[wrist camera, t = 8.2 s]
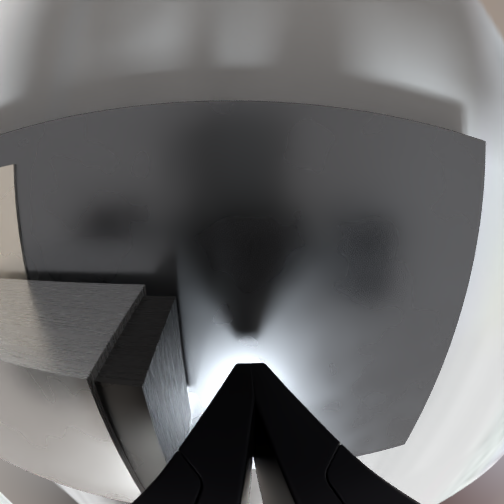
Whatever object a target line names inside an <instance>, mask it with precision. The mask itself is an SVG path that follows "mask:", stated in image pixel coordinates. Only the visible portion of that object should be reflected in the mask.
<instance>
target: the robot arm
mask: <svg viewBox="0 0 504 504" xmlns="http://www.w3.org/2000/svg"><path fill="white" fill-rule="evenodd" d="M253 459H254V463H255V468H256V473H257V478H258V483H259V487H260V492H261V496H262V501H263V504H420V503H419V502H417V501H415V500H414V499H412V498H411V497H409V496H407V495H406V494H404V493H403V492H401V491H400V490H398V489H397V488H395V487H394V486H392V485H391V484H389V483H388V482H386V481H385V480H384V479H382V478H381V477H380V476H378V475H377V474H376V473H374V472H373V471H372V470H370V469H369V468H368V467H367V466H365V465H364V464H363V463H362V462H361V461H360V460H359V459H357V458H356V457H355V456H354V455H353V454H352V453H351V452H350V451H349V450H348V449H347V448H346V447H345V446H344V445H343V444H341V445H340V441H338V440H337V439H336V438H335V437H334V436H333V435H332V434H331V433H330V432H329V431H328V430H327V429H326V427H325V426H324V425H323V424H322V423H321V422H320V421H319V420H318V419H317V418H316V417H315V416H314V415H313V414H312V413H311V412H310V411H309V410H308V409H307V408H306V407H305V406H304V405H303V404H302V403H301V402H300V401H299V400H298V398H297V397H296V396H295V395H294V394H293V393H292V392H291V391H290V390H289V389H288V388H287V387H286V386H285V384H284V383H283V382H282V381H281V380H280V379H279V378H278V377H277V376H276V375H275V374H274V372H273V371H272V370H271V369H270V368H269V367H268V366H267V365H266V364H265V363H237V364H235V366H234V367H233V369H232V370H231V372H230V373H229V375H228V376H227V378H226V379H225V381H224V383H223V384H222V386H221V387H220V389H219V390H218V392H217V393H216V395H215V396H214V398H213V399H212V401H211V402H210V404H209V405H208V407H207V408H206V410H205V411H204V413H203V414H202V415H201V417H200V418H199V420H198V421H197V423H196V424H195V426H194V427H193V429H192V430H191V431H190V433H189V434H188V436H187V437H186V439H185V440H184V442H183V443H182V444H181V446H180V447H179V449H178V451H176V453H175V454H174V455H173V457H172V458H171V460H170V461H169V462H168V464H167V465H166V466H165V467H164V469H163V470H162V471H161V473H160V474H159V475H158V476H157V477H156V479H155V480H154V481H153V482H152V483H151V484H150V485H149V486H148V487H147V488H146V489H145V490H144V491H143V492H142V493H141V494H140V495H139V496H138V497H137V498H136V499H135V500H134V501H133V502H132V503H131V504H248V503H249V494H250V484H251V474H252V464H253Z"/></svg>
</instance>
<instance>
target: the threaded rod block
mask: <svg viewBox="0 0 504 504" xmlns="http://www.w3.org/2000/svg"><path fill="white" fill-rule="evenodd" d="M190 418H191V409H190V403H189V397H188V391H187V384H186V377H185V370H184V363H183V355H182V348H181V339H180V331H179V322H178V312H177V302H176V296H146V288H145V285H141V284H104V283H77V282H54V281H35V280H18V279H3V278H0V459H2V460H4V461H6V462H9V463H11V464H13V465H15V466H17V467H19V468H21V469H24V470H26V471H28V472H31V473H33V474H35V475H38V476H40V477H43V478H45V479H48V480H51V481H53V482H56V483H59V484H62V485H65V486H68V487H71V488H74V489H77V490H81V491H84V492H87V493H91V494H95V495H98V496H102V497H106V498H111V499H115V500H120V501H124V502H129V503H132V502H133V501H134V500H135V499H136V498H137V497H138V496H139V495H140V494H141V493H142V492H143V491H144V490H145V489H146V488H147V487H148V486H149V485H150V484H151V483H152V482H153V481H154V480H155V479H156V477H157V476H158V475H159V474H160V473H161V471H162V470H163V469H164V467H165V466H166V465H167V464H168V462H169V461H170V460H171V458H172V457H173V455H174V454H175V453H176V451H178V449H179V447H180V446H181V444H182V443H183V442H184V440H185V439H186V437H187V436H188V433H189V425H190Z"/></svg>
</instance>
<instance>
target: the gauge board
mask: <svg viewBox="0 0 504 504" xmlns="http://www.w3.org/2000/svg"><path fill="white" fill-rule="evenodd" d="M484 176H485V141H483V140H480V139H477V138H474V137H471V136H468V135H465V134H461V133H458V132H455V131H451V130H448V129H444V128H440V127H436V126H433V125H429V124H425V123H420V122H416V121H412V120H407V119H403V118H398V117H393V116H388V115H383V114H377V113H371V112H365V111H359V110H352V109H345V108H338V107H330V106H321V105H311V104H300V103H286V102H268V101H194V102H175V103H162V104H151V105H141V106H132V107H124V108H117V109H110V110H103V111H97V112H91V113H86V114H80V115H75V116H70V117H65V118H61V119H56V120H52V121H48V122H44V123H40V124H36V125H32V126H28V127H25V128H21V129H18V130H14V131H11V132H8V133H4V134H1V135H0V278H3V279H18V280H35V281H54V282H77V283H104V284H141V285H145V288H146V296H176V302H177V312H178V322H179V331H180V339H181V348H182V355H183V363H184V370H185V377H186V384H187V391H188V397H189V403H190V409H191V418H190V425H189V433H190V431H191V430H192V429H193V427H194V426H195V424H196V423H197V421H198V420H199V418H200V417H201V415H202V414H203V413H204V411H205V410H206V408H207V407H208V405H209V404H210V402H211V401H212V399H213V398H214V396H215V395H216V393H217V392H218V390H219V389H220V387H221V386H222V384H223V383H224V381H225V379H226V378H227V376H228V375H229V373H230V372H231V370H232V369H233V367H234V366H235V364H237V363H265V364H266V365H267V366H268V367H269V368H270V369H271V370H272V371H273V372H274V374H275V375H276V376H277V377H278V378H279V379H280V380H281V381H282V382H283V383H284V384H285V386H286V387H287V388H288V389H289V390H290V391H291V392H292V393H293V394H294V395H295V396H296V397H297V398H298V400H299V401H300V402H301V403H302V404H303V405H304V406H305V407H306V408H307V409H308V410H309V411H310V412H311V413H312V414H313V415H314V416H315V417H316V418H317V419H318V420H319V421H320V422H321V423H322V424H323V425H324V426H325V427H326V429H327V430H328V431H329V432H330V433H331V434H332V435H333V436H334V437H335V438H336V439H337V440H338V441H340V445H341V444H343V445H344V446H345V447H346V448H347V449H348V450H349V451H350V452H351V453H352V454H353V455H354V456H355V457H356V456H361V455H365V454H370V453H374V452H378V451H382V450H386V449H390V448H393V447H397V446H400V445H404V444H405V442H406V441H407V439H408V437H409V435H410V433H411V432H412V430H413V428H414V426H415V424H416V422H417V420H418V418H419V416H420V414H421V412H422V410H423V408H424V406H425V404H426V402H427V400H428V398H429V396H430V394H431V391H432V389H433V387H434V385H435V382H436V380H437V377H438V375H439V373H440V370H441V368H442V365H443V363H444V360H445V357H446V355H447V352H448V349H449V347H450V344H451V341H452V338H453V335H454V332H455V329H456V326H457V323H458V320H459V316H460V313H461V310H462V306H463V302H464V299H465V295H466V291H467V287H468V283H469V279H470V275H471V270H472V265H473V261H474V256H475V250H476V245H477V239H478V233H479V226H480V219H481V210H482V201H483V190H484ZM189 433H188V434H189ZM252 469H256V468H255V463H254V459H253V464H252Z"/></svg>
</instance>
